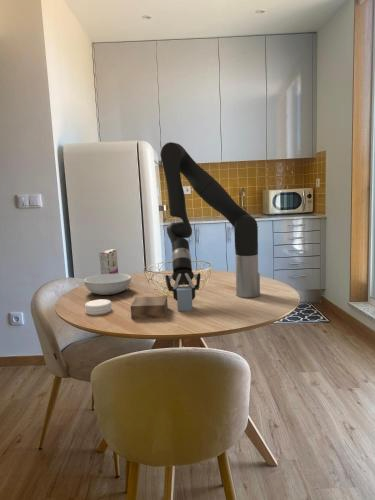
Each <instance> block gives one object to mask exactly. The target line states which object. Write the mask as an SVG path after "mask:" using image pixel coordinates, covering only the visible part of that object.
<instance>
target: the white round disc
mask: <svg viewBox="0 0 375 500" xmlns="http://www.w3.org/2000/svg"><path fill="white" fill-rule="evenodd" d="M84 306H85V308H84V309H85V310H84V311H85V313H86V314H87V315H91V316H92V315H94V316H95V315H96V316H97V315H98V316H99V315H104V314H107V313H110V312H111V311H112V310H113V308H112V301H111V300H110V299H105V298H104V299H103V298H102V299H94V300H90V301H87V302H86V303H85V304H84Z"/></svg>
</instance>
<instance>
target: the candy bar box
mask: <svg viewBox="0 0 375 500" xmlns="http://www.w3.org/2000/svg"><path fill="white" fill-rule="evenodd" d="M117 252H118V251H117V249H116V248H115V249H114V248H113V249H110V248H109V249H107V250H104V251H101V252H99V253H98V254H99V265H100V275H101V274H119V265H118V253H117Z"/></svg>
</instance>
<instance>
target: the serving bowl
mask: <svg viewBox="0 0 375 500" xmlns="http://www.w3.org/2000/svg"><path fill="white" fill-rule="evenodd" d="M131 281H132V276H131V275H129V274H126V273H118V274H101V273H100V274H96V275H92V276H88V277H86V278H84V280H83V283H84V286H85V288H86V289H87V290H88V291H89V292H91V293H93V294H97V295H100V296H101V295H102V296H110V295H115V294H118V293H121V292H123V291H126V290H127V289H128V288H129V286H130V285H131Z"/></svg>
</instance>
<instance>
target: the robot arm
mask: <svg viewBox="0 0 375 500" xmlns="http://www.w3.org/2000/svg"><path fill="white" fill-rule="evenodd" d="M159 154H160V159H161V164H162V167H163V171H164V176H165V181H166V190H167V198H168V201H167V202H168V213H169V216H171V217H172V218H178V219H181V221H177V222H175V221H174V222H170V223H168V225H167V227H166V233H167V237H168V238H169V240H170V243H171V251H172V254H171V255H172V257H171V258H172V259H171V261H172V262H171V263H172V275H168V274H166V275H165V282H166V283H165V284H166V287H167V290H168V292H172V295H173V299H174V300H175V301H176V302H177V287H180V286H191V289H192V301H193V300H194V299H195V298H196V291H197V290H200V283H201V276H202V275H201V273H197V274H196V273H194V272H193V268H192V267H193V266H192V255H191V253H190V244H189V240H187V239H188V238H191V236H192V234H193V228H192V225H191V223H190V219H189V217H188V213H187V207H186V197H185V195H186V194H185V191H184V187H183V184H182V178H181V177H182V176H181V174H182V175H183V176H184V177H185V178H186V180H187V181H188V183H189V185H190V186H191V188H192V189H193V190H194V191H195V193H196V194H197V195H198V196H199V197H200V198H201V200H203V201H204V202H205V203H206V204H207V205H208V206H210V207H211V208H212V209H214V210H215V211H217V212H218V213H219V214H221V215H222V216H223V217H224V218H226V220H227V221H228V222H229V224H230V225H231V226H232V227H233V228H234V229H233V231H234V249H235V250H234V252H235V253H234V254H235V257H234V258H235V287H236V288H235V290H236V292H235V293H236V296H237V297H238V298H239V297H240V298H245V299H246V298H255V297H259V296H261V284H260V283H261V281H260V280H261V277H260V272H259V233H258V232H259V228H258V222H257V220H256V218H255V217H253V216H252V215H251V214H250V213H248V212H247V211H245V210H244V209H243V208H242V207H241V206H239V205H238V204H237V202H236V201H235V200H234V199H233V198H232V196H231V195H230V194H229V193H228V191H226V189H225V188H224V187H223V186H222V184H220V183H219V182H218V181H217V180H216V179H215V178H214V177H213V176H212V175H211V174H210V173H209V172H207V171H206V170H205V169H204V168H202V166H200V165H199V164H197V162H196V161H195V160H194V159H193V158H192V157H191V155H190V154H189V153H188V151H186V149H185V148H184V147H183V146H182V144H180V143H177V142H166V143H164V144H163V146H162V147H161V149H160V151H159ZM193 279H194V280H195V281H196V282H195V285H194V283H193ZM172 280H173V281H174V285H172V283H171V281H172Z"/></svg>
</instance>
